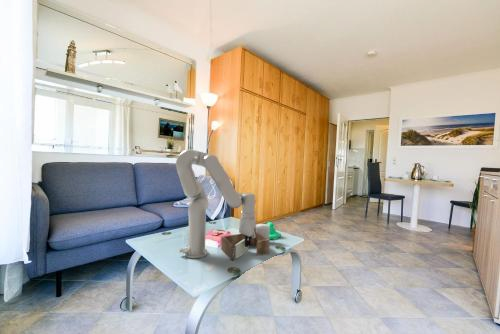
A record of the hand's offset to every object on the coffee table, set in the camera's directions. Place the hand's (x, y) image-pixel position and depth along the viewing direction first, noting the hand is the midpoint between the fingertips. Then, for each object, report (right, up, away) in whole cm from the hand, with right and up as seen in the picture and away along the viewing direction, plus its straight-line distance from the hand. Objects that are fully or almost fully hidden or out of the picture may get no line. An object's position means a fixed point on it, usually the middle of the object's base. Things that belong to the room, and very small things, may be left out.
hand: (247, 246), depth 126 cm
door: (-4, -4, -1) cm, 6 cm away
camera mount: (+17, -5, +30) cm, 35 cm away
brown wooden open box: (-2, -5, +5) cm, 7 cm away
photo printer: (+9, -5, +20) cm, 22 cm away
